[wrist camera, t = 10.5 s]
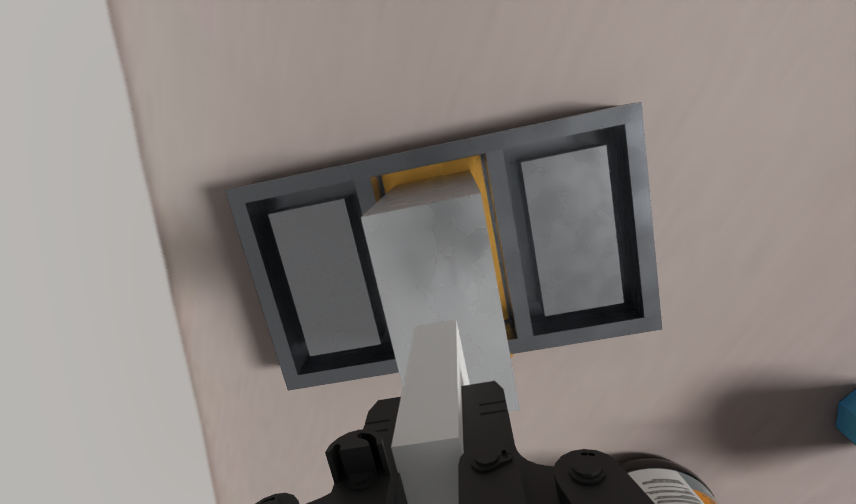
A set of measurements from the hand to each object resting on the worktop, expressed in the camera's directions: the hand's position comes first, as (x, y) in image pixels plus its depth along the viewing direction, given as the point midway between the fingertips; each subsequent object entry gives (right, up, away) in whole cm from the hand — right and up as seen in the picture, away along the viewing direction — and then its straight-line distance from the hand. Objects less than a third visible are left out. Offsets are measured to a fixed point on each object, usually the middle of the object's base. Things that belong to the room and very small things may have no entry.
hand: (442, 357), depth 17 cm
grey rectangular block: (+1, +4, +15) cm, 15 cm away
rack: (+1, +4, +15) cm, 16 cm away
